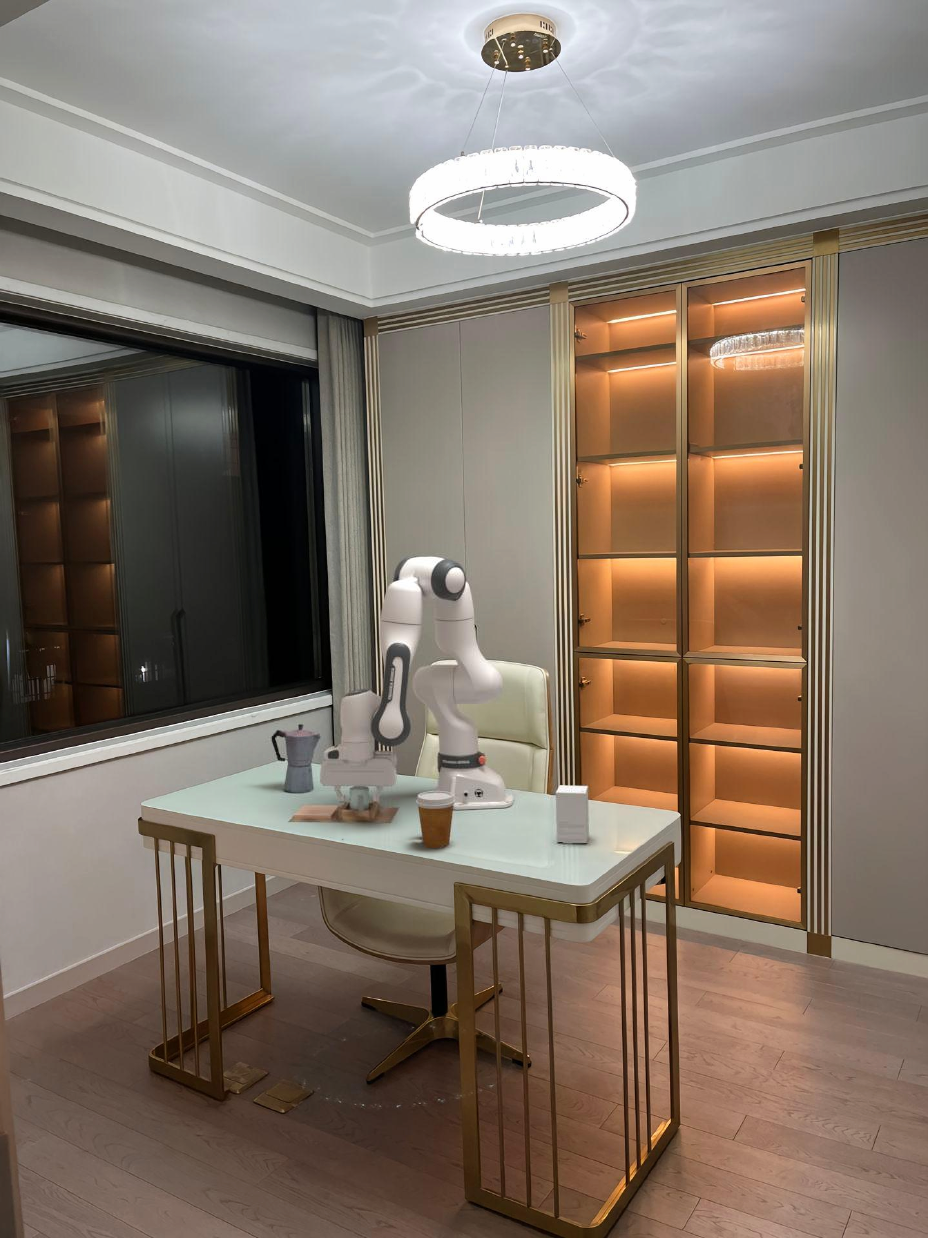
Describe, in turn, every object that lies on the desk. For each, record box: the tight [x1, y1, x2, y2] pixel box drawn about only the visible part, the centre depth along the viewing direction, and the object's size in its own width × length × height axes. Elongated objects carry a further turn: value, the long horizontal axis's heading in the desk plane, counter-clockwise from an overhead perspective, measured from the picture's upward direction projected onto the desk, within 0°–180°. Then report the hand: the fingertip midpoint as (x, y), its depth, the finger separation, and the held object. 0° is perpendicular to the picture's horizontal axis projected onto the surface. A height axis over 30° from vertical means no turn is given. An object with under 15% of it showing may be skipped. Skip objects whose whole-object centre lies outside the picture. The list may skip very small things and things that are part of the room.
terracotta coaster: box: [293, 804, 340, 818], centre depth 253 cm, size 10×10×1 cm
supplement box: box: [555, 784, 590, 844], centre depth 229 cm, size 7×7×13 cm
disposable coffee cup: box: [415, 790, 455, 849], centre depth 227 cm, size 10×10×12 cm
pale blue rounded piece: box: [349, 786, 370, 811], centre depth 247 cm, size 8×5×8 cm, turn 11°
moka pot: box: [271, 723, 323, 794], centre depth 282 cm, size 10×15×20 cm, turn 89°
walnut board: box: [288, 801, 400, 824], centre depth 251 cm, size 27×15×4 cm, turn 85°
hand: (359, 802), depth 250 cm, fingers open, 8 cm apart
